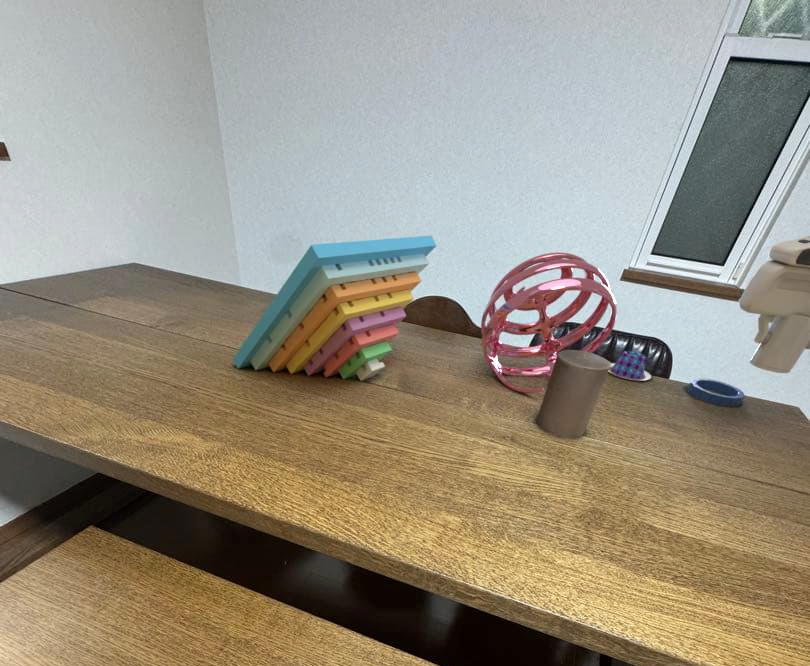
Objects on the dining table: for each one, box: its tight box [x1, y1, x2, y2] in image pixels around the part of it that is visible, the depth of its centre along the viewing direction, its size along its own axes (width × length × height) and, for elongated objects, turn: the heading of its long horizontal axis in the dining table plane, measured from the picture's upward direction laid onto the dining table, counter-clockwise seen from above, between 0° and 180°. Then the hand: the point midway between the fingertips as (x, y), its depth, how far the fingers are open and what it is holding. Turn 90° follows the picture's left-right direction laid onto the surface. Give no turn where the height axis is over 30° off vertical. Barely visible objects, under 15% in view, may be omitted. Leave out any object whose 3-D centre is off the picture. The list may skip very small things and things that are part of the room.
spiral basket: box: [480, 251, 618, 394], centre depth 98 cm, size 28×28×27 cm
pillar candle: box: [535, 349, 612, 439], centre depth 85 cm, size 10×10×15 cm
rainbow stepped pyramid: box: [232, 235, 437, 382], centre depth 97 cm, size 35×18×35 cm
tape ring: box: [686, 377, 745, 408], centre depth 112 cm, size 12×12×2 cm
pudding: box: [608, 350, 652, 382], centre depth 118 cm, size 12×12×5 cm
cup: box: [749, 314, 810, 374], centre depth 79 cm, size 6×6×9 cm
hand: (781, 345), depth 80 cm, fingers closed on cup, 6 cm apart
